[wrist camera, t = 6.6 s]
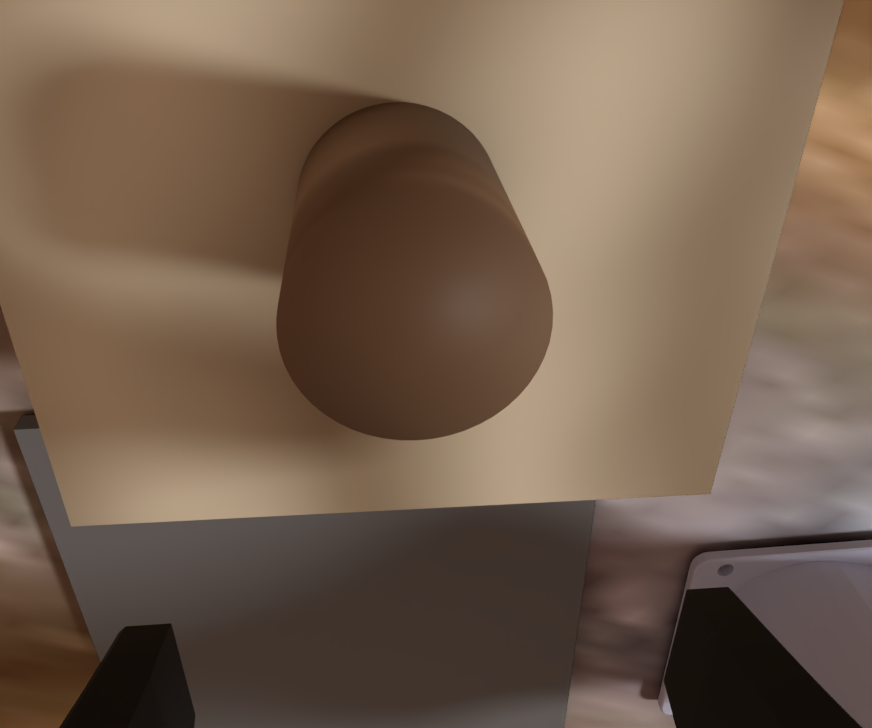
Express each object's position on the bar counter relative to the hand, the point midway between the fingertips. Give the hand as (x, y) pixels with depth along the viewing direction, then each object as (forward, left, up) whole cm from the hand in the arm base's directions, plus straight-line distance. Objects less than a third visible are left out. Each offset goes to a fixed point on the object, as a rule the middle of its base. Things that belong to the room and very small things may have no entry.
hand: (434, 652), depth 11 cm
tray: (+2, +10, -10) cm, 14 cm away
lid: (0, -5, -6) cm, 7 cm away
